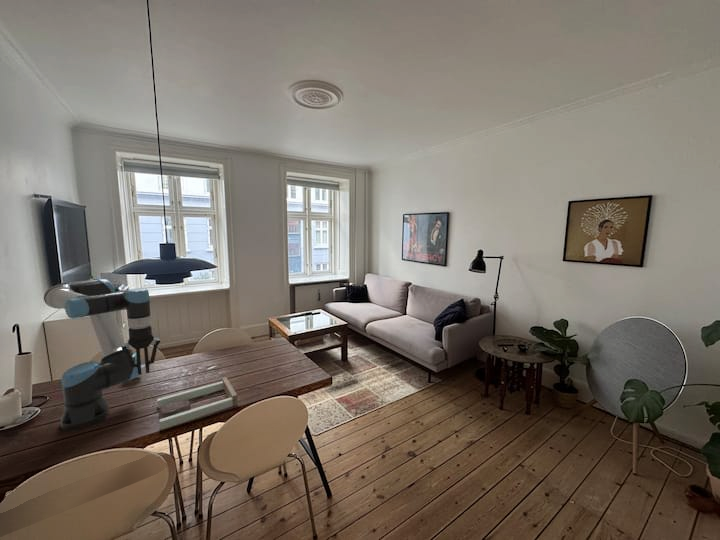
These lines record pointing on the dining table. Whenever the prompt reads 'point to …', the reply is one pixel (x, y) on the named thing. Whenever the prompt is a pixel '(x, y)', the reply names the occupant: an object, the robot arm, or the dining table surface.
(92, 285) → the robot arm
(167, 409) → the stone
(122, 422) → the dining table surface
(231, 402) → the grey u-shaped frame
